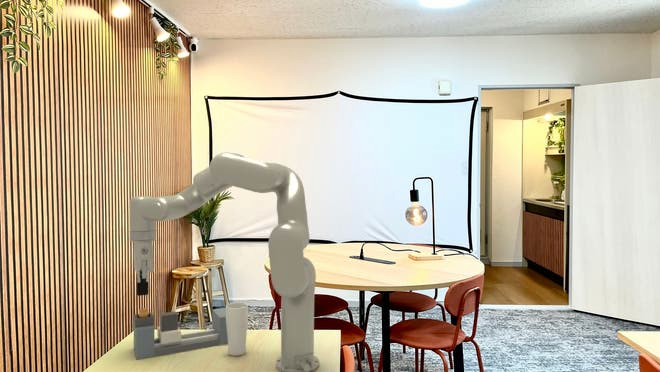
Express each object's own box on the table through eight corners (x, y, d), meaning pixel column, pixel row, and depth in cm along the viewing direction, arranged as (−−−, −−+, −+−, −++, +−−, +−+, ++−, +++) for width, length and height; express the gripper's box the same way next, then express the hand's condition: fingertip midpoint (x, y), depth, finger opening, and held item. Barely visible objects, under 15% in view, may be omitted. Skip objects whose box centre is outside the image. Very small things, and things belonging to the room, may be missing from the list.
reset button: (147, 317, 142) (147, 307, 142) (149, 319, 139) (148, 310, 139) (138, 318, 141) (138, 308, 141) (139, 321, 138) (139, 311, 138)
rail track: (226, 333, 158) (226, 300, 157) (234, 342, 149) (234, 307, 149) (133, 348, 143) (132, 312, 143) (136, 359, 135) (135, 321, 134)
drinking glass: (242, 358, 136) (242, 309, 136) (222, 356, 137) (221, 307, 137) (251, 349, 143) (251, 302, 142) (231, 348, 144) (231, 301, 144)
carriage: (176, 333, 149) (176, 309, 148) (181, 341, 142) (181, 315, 141) (157, 336, 146) (157, 311, 146) (161, 344, 139) (160, 318, 139)
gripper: (159, 238, 135) (158, 299, 135) (152, 232, 148) (152, 287, 148) (131, 239, 131) (131, 302, 132) (127, 233, 144) (127, 290, 145)
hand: (142, 294), depth 140 cm, fingers closed
